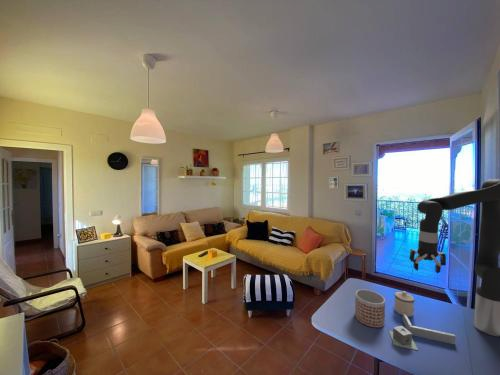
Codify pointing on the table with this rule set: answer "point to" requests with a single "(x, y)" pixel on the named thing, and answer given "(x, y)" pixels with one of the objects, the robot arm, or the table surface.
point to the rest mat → (410, 346)
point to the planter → (370, 308)
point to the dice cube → (402, 335)
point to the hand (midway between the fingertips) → (426, 271)
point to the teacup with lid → (404, 303)
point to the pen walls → (428, 332)
